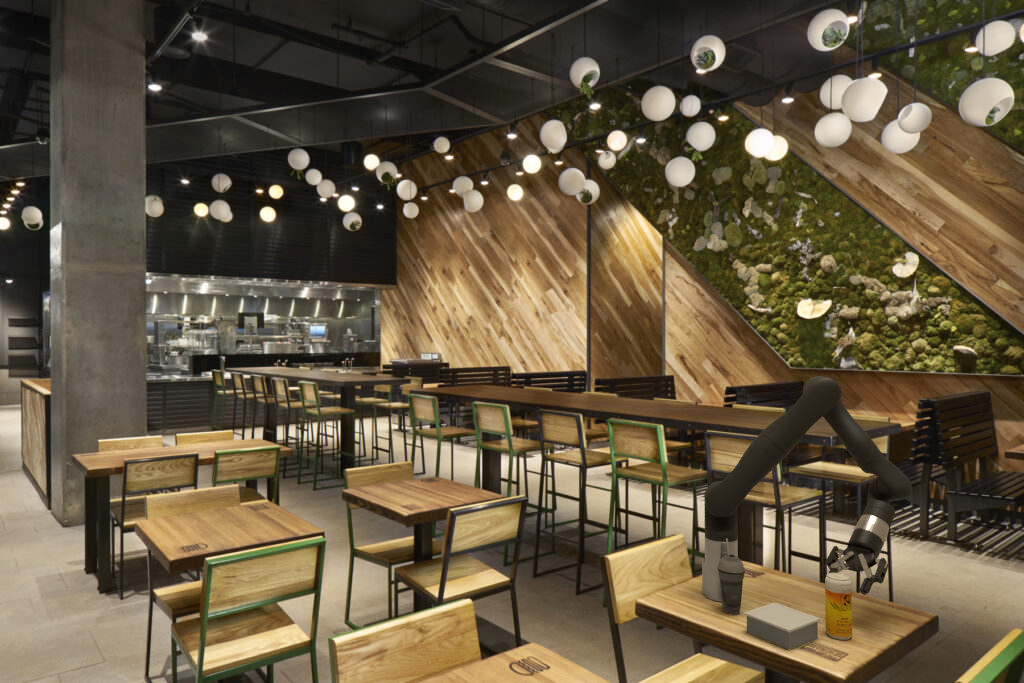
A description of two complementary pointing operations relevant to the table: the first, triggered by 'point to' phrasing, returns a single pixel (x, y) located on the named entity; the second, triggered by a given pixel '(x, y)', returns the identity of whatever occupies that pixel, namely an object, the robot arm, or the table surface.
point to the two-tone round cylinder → (838, 606)
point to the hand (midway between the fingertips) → (845, 588)
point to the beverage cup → (731, 582)
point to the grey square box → (782, 625)
